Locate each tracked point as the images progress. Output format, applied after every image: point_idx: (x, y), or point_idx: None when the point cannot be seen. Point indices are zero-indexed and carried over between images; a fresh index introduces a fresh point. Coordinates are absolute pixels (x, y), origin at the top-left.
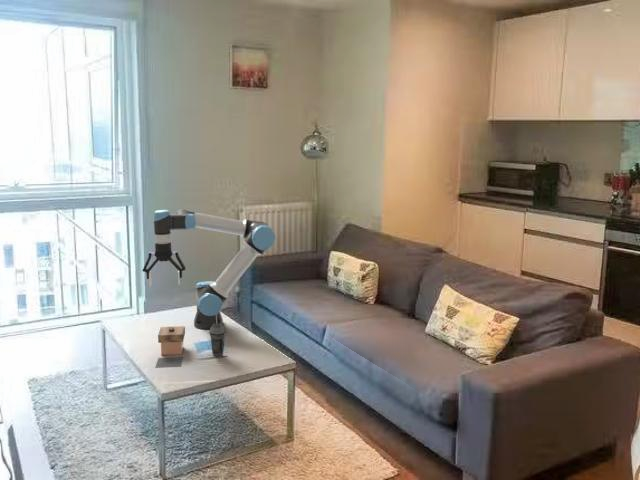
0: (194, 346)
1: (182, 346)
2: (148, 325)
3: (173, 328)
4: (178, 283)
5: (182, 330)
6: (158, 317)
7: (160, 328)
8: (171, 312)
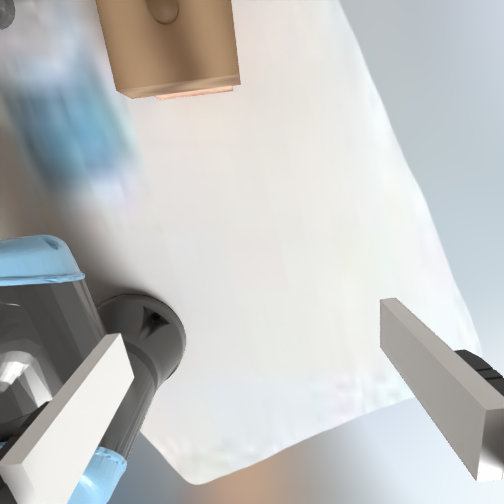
0: (122, 120)
1: None
2: (336, 326)
3: (153, 12)
4: (111, 342)
5: (105, 11)
6: (317, 393)
7: (235, 48)
8: (284, 433)
